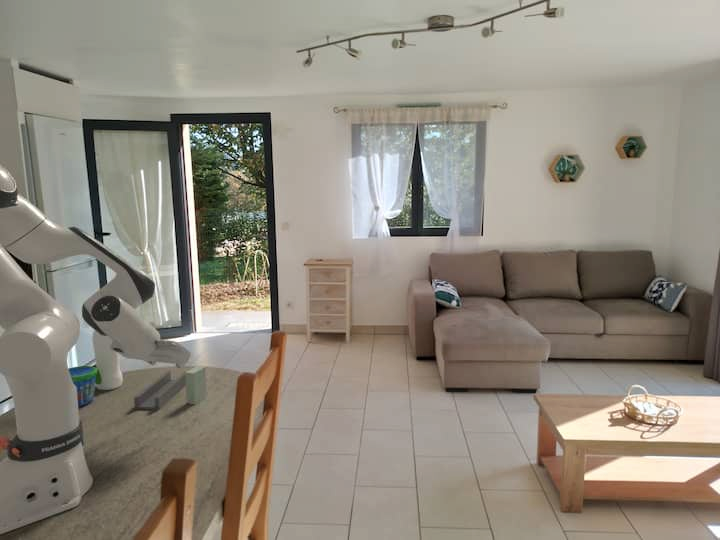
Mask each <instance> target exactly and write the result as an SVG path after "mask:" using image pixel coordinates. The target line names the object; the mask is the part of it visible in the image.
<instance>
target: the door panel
mask: <svg viewBox="0 0 720 540" xmlns="http://www.w3.org/2000/svg"><path fill="white" fill-rule="evenodd" d="M184 372H185V377H186V385H185V393H186V394H185V395H186V404H188V403H189V405H194V404H195V405H197V404H198V403H200V402H201V401H203V400H204V399H206V398H207V397H208V396H207V373H206V372H207V371H206V366H198V365H196V366H195V367H193V368H191V369H189V370H187V371H184ZM206 396H207V397H206ZM205 397H206V398H205ZM202 399H203V400H202Z"/></svg>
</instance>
